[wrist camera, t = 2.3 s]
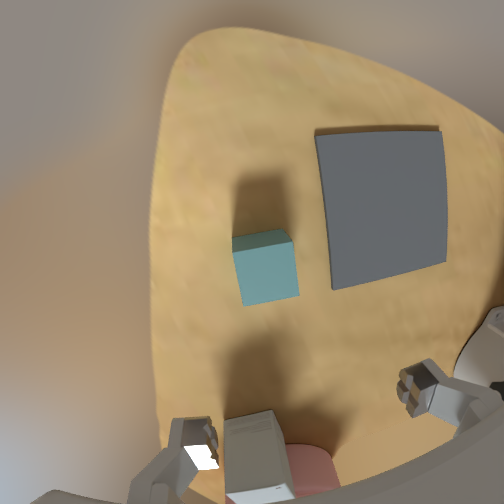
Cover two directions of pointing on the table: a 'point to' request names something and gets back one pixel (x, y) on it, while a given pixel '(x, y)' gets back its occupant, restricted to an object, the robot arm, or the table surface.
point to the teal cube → (265, 267)
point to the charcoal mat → (383, 203)
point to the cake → (309, 470)
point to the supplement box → (256, 460)
